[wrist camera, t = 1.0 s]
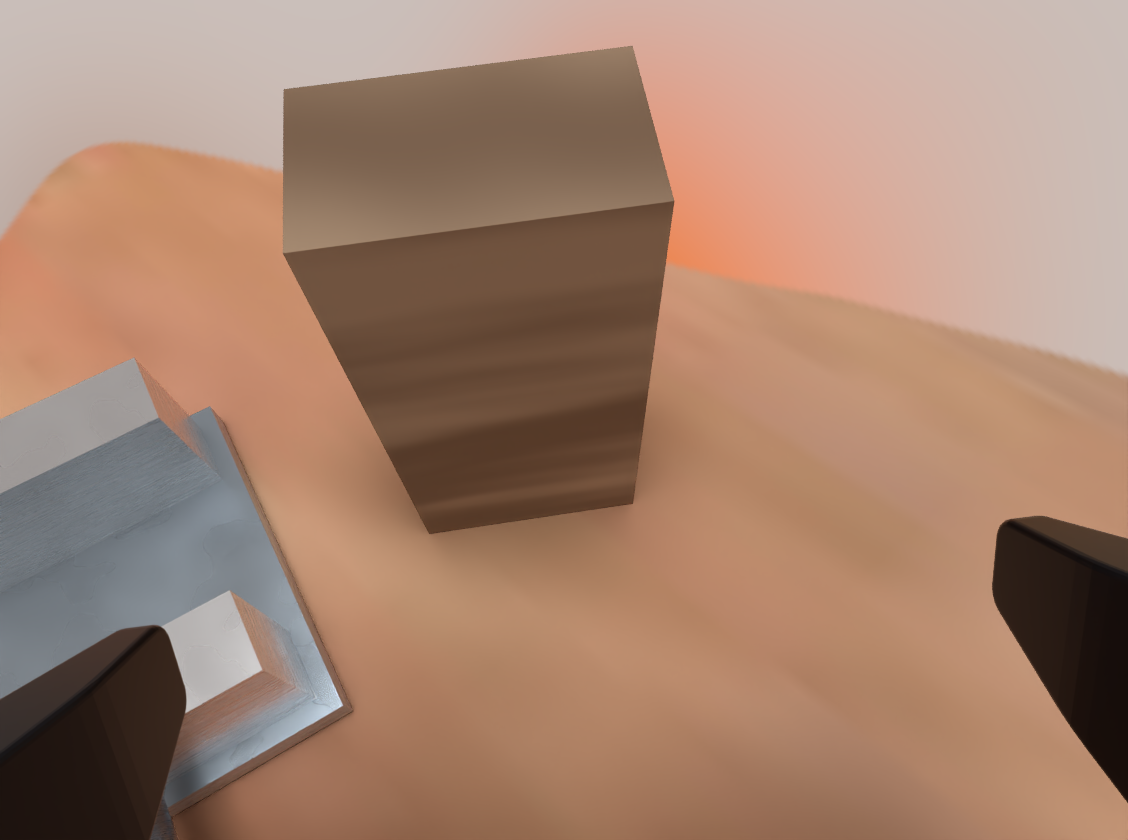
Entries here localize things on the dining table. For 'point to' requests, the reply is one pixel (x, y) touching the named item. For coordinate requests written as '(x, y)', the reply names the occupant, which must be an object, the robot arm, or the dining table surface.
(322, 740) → the dining table surface
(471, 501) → the walnut slab
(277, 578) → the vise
